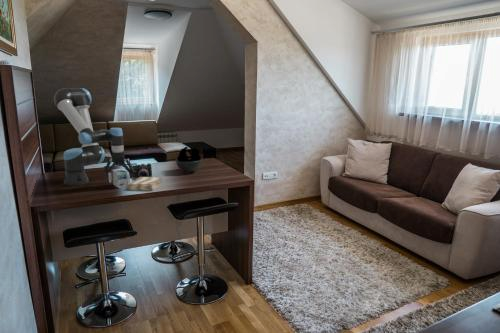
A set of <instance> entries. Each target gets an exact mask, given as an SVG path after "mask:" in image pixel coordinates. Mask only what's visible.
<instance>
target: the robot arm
mask: <svg viewBox="0 0 500 333" xmlns="http://www.w3.org/2000/svg"><path fill="white" fill-rule="evenodd" d="M53 101H54V104H55V106H56V107H57V109H58V110H59V111H61V112H62V113H63V115H64V117H66V118H67V120H68V121H69V123H70V124H71V125H72V126H73V128H74V130H76V132H77V133H78V137H77V138H78V141H79V143H80V145H81V147H73V148H70V149H67V150H65V151H64V152H63V163H64V170H65V175H64V178H63V185H64V184H65V186H67V185H70V186H69V187H74V186H75V187H77V186H82V185H85V184H88V183H89V178H88V175H87V173H86V171H85V167H87V166H93V165H98V164H100V163H102V162H103V161H104V160H105V157H106V156H105V154H106V152H105V149H104V148H103V147H102V146H100V144H99V143H104V142H105V143H106V142H110V145H111V157H109V158H108V159H107V163H106V165H105V167H104V170H103V171H104V173H106V175H107V178H108V182H109V183H113V175H112V170H114V168H115V166H119V167H120V166H121V167H122V168H124V170H125V171H127V175H128V184H130V183H132V182H133V181H132V179H133V178H132V177H133V176H132V173H134V172H135V170H134V168H133V166H132V165H133V164H132V163H131V162H130V158H127V159H126V158H125V149H124V148H125V146H124V133H123V129H122V128H121V127H111V128H110V129H107V128H106V129H100V130H94V129H93V125H92V120H91V116H90V112H89V109H90V107H91V106H90V105H91V103H92V95H91V93H90V92H89V90H87V89H86V88H84V87H83V88H82V87H81V88H80V87H70V88H69V87H67V88H65V87H63V88H60V89H58V90H56V92H55V94H54V97H53ZM112 162H113V163H112ZM111 163H112V164H111Z"/></svg>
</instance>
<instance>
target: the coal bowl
mask: <svg viewBox="0 0 500 333" xmlns="http://www.w3.org/2000/svg"><path fill="white" fill-rule="evenodd" d="M187 153H189V155H190V156H188V154H187ZM202 162H203V160H202V157H201V156H200V150H198V149H197V148H189V147H188V146H185V147H184V148H183V147H182V148H181V150H180V152H179V154H178V155H177V158H176V159H175V164H176V165H177V167H178V169H179V170H180V171H182V172H185V173H191V172H194V171H197V170H198V169H199V168H200V167H201V164H202Z"/></svg>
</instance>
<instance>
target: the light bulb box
mask: <svg viewBox="0 0 500 333" xmlns="http://www.w3.org/2000/svg"><path fill="white" fill-rule="evenodd" d="M111 173H112V184H113V186H114V187H116V188H118V189H122V188H127V187H128V185H129V177H128V171H127V170H126V169H123V168H115V169H114V168H113V169H112V170H111Z"/></svg>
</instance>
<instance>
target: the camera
mask: <svg viewBox="0 0 500 333" xmlns="http://www.w3.org/2000/svg"><path fill="white" fill-rule="evenodd" d="M131 165H132V166H133V168H134V170H135V172H134V173H132V176H133V177H132V178H131V179H138V178H139V177H153V171H152V170H153V169H152V163H149V162H148V163H147V164H145V163H141V164H137V163H136V164H134V165H133V164H131Z"/></svg>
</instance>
